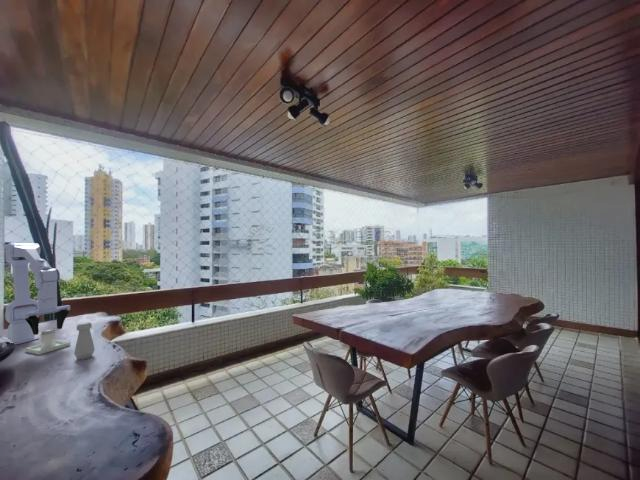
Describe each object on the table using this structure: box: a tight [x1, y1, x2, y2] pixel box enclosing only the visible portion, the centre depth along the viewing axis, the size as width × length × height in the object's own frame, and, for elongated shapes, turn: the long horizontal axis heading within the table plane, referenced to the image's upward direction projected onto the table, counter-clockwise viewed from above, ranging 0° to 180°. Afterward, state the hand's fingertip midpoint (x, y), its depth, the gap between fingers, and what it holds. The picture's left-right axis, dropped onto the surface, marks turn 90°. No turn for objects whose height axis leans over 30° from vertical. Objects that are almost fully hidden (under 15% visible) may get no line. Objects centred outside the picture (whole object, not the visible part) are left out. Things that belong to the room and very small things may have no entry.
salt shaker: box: [73, 321, 95, 361], centre depth 103 cm, size 6×6×13 cm
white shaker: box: [39, 328, 57, 350], centre depth 114 cm, size 4×4×7 cm
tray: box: [24, 339, 71, 356], centre depth 114 cm, size 10×10×2 cm
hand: (48, 331), depth 114 cm, fingers open, 7 cm apart
